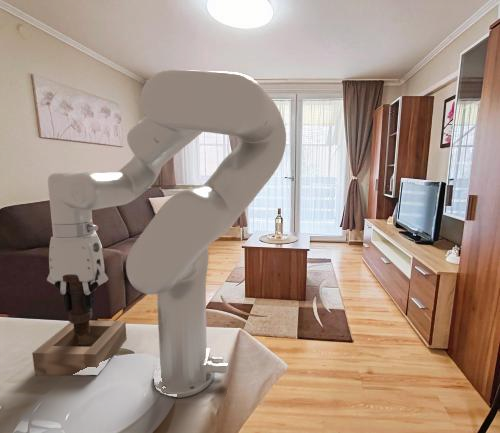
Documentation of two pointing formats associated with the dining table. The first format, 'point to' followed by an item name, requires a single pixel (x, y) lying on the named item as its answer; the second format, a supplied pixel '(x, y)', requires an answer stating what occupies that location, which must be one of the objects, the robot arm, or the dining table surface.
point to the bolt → (78, 306)
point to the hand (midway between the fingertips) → (80, 308)
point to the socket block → (79, 348)
